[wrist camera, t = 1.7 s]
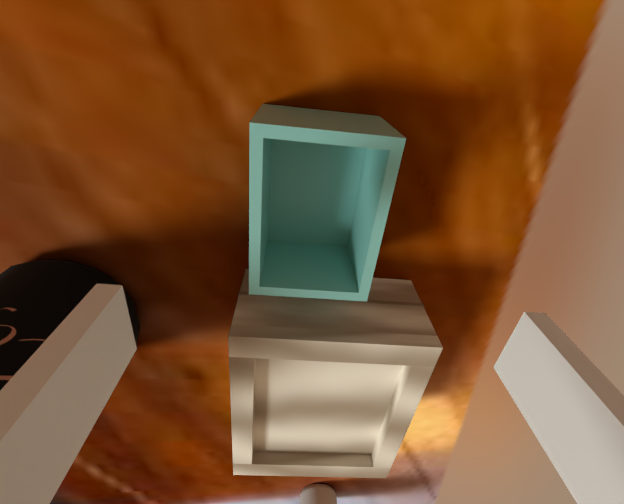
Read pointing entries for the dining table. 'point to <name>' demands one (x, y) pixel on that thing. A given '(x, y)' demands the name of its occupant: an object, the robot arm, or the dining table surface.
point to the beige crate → (327, 380)
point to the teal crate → (318, 200)
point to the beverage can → (318, 495)
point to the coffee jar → (42, 306)
